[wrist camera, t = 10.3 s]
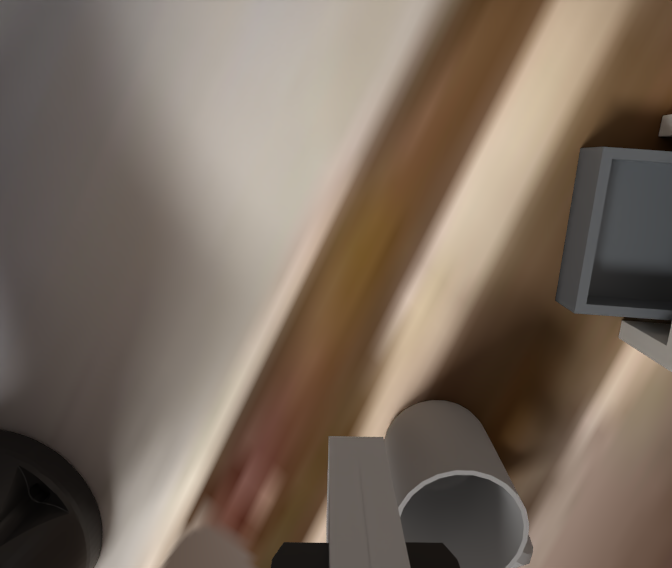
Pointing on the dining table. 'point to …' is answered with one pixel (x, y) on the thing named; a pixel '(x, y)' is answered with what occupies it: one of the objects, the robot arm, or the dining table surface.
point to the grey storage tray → (619, 235)
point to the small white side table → (650, 338)
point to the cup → (455, 487)
